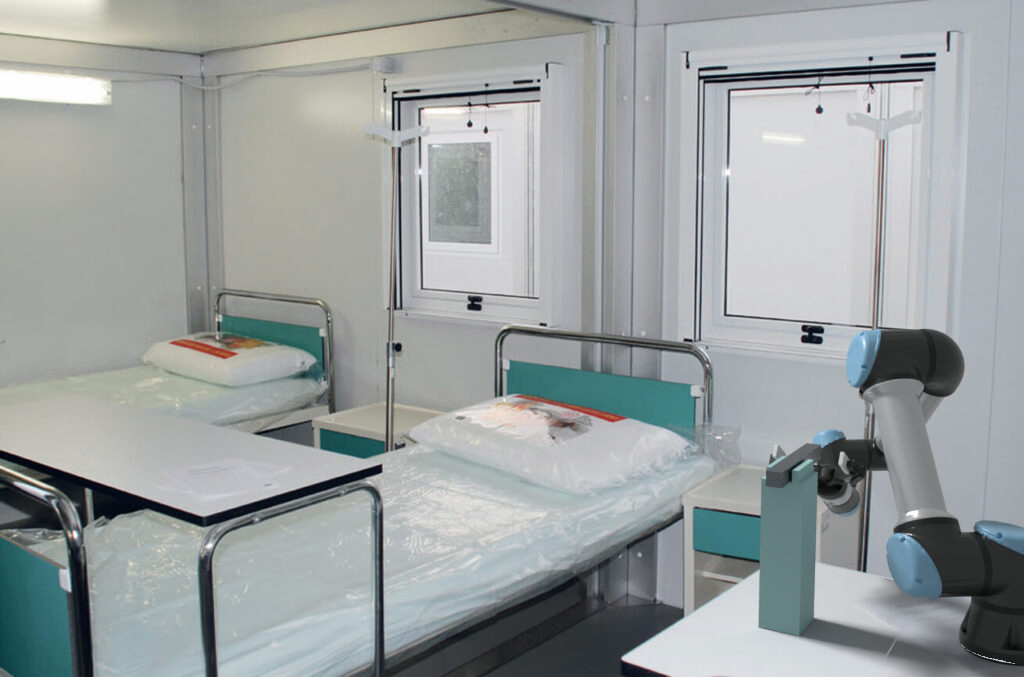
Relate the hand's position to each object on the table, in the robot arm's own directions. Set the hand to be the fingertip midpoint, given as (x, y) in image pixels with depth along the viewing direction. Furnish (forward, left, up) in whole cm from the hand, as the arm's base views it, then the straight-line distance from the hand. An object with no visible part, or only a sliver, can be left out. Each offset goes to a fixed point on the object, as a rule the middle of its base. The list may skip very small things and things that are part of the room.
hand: (807, 454), depth 205 cm
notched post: (-6, +12, -31) cm, 34 cm away
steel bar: (-5, +9, -1) cm, 10 cm away
